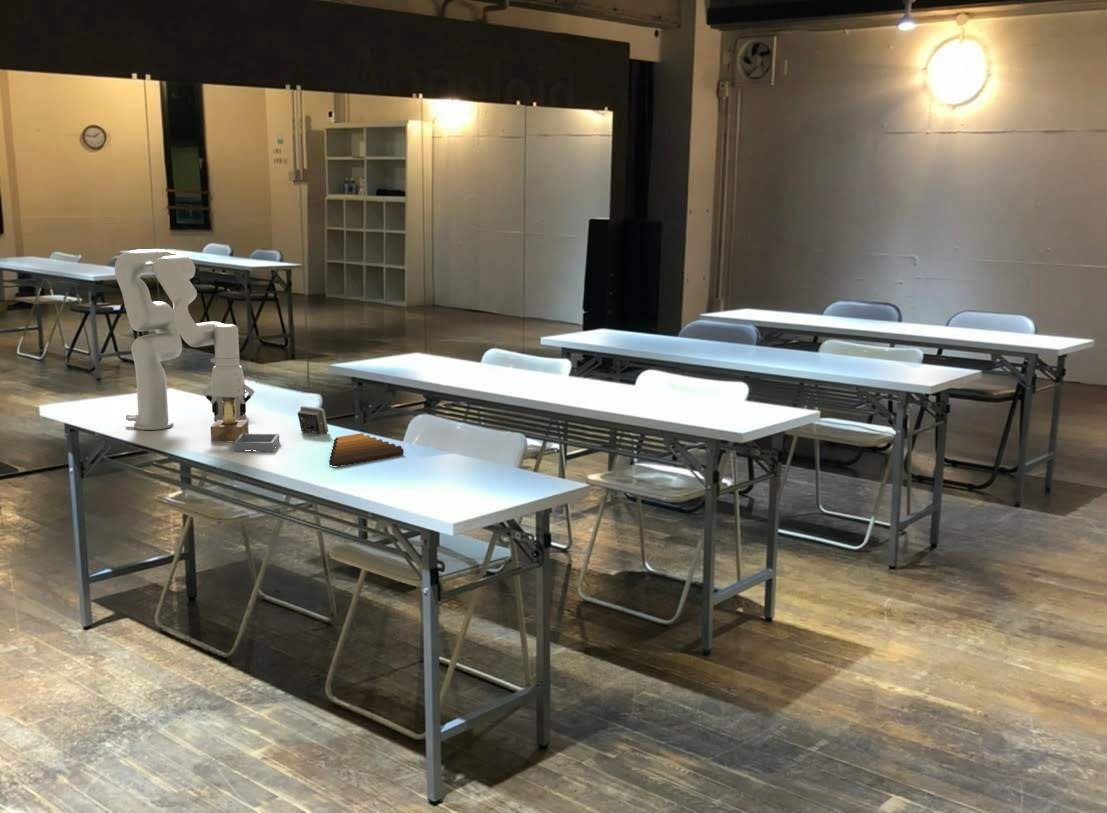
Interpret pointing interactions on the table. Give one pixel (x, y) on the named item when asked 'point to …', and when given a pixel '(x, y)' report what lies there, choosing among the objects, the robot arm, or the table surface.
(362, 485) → the table surface
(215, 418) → the geiger counter
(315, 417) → the electrical switch
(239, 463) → the table surface
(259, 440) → the parts tray
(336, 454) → the pan flute
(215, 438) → the brown square frame
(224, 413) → the brass pin
